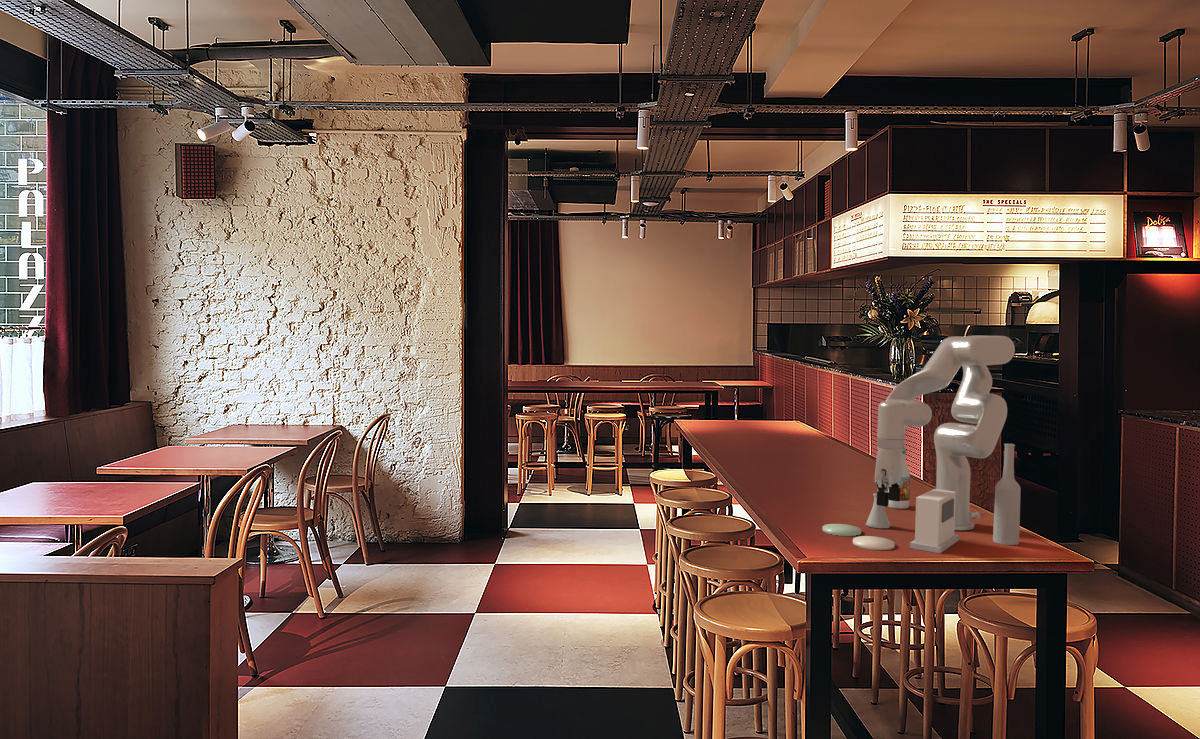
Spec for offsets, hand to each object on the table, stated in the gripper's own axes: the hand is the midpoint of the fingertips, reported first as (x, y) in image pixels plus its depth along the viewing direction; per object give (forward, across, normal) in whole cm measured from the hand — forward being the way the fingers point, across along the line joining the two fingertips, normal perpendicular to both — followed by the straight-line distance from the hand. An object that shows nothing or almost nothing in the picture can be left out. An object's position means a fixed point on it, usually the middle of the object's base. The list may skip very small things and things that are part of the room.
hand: (888, 503), depth 232 cm
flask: (+10, -10, -6) cm, 16 cm away
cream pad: (+10, +12, 0) cm, 15 cm away
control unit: (+10, 0, +13) cm, 16 cm away
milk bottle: (+10, -42, -11) cm, 45 cm away
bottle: (+10, -16, +28) cm, 34 cm away
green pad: (+10, +4, -12) cm, 16 cm away
